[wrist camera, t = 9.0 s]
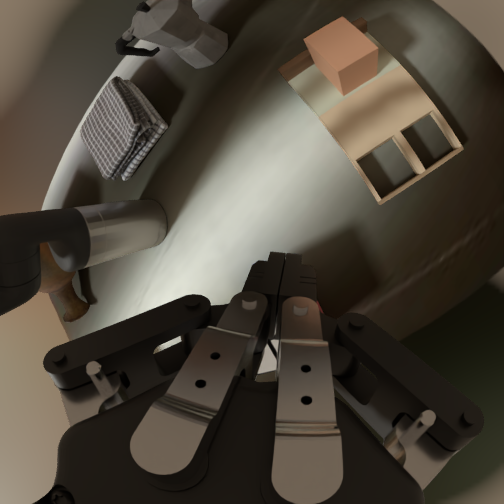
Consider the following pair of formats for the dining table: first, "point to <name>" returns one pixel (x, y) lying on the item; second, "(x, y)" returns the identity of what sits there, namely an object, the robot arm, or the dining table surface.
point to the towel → (121, 129)
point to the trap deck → (369, 109)
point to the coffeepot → (174, 33)
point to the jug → (60, 285)
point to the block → (343, 55)
